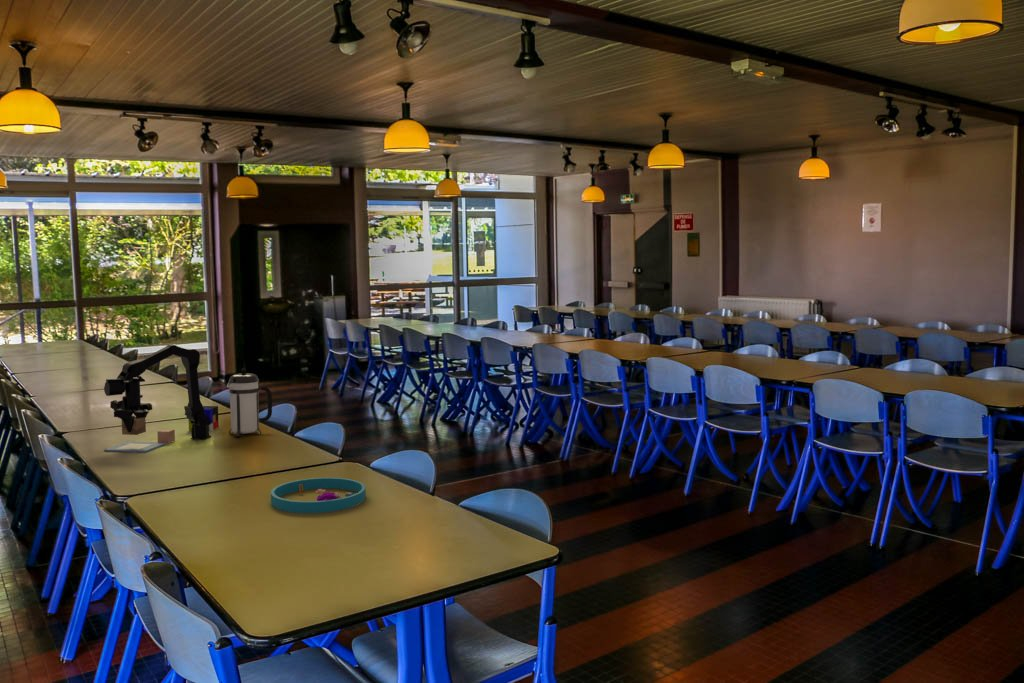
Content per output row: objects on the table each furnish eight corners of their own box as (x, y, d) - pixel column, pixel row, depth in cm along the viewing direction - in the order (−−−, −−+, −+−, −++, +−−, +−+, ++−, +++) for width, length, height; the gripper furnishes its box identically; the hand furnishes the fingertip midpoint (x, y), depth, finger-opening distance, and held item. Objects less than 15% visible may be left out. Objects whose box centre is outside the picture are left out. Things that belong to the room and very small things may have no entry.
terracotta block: (174, 441, 358) (174, 429, 358) (168, 443, 354) (168, 431, 353) (164, 440, 359) (163, 429, 359) (157, 443, 354) (157, 431, 354)
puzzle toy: (210, 431, 380) (209, 409, 379) (188, 431, 380) (188, 409, 379) (218, 427, 390) (218, 406, 389) (197, 427, 390) (196, 405, 389)
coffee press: (254, 438, 364) (252, 370, 361) (221, 436, 367) (219, 369, 364) (273, 430, 381) (271, 366, 378) (241, 429, 384) (239, 365, 381)
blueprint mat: (166, 444, 351) (166, 442, 351) (145, 452, 335) (145, 450, 335) (127, 443, 353) (126, 441, 353) (104, 451, 337) (104, 449, 337)
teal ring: (291, 520, 249) (291, 501, 248) (257, 497, 273) (257, 480, 272) (381, 504, 266) (381, 486, 266) (342, 484, 290) (342, 467, 290)
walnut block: (145, 431, 346) (145, 417, 345) (137, 434, 339) (136, 420, 339) (131, 431, 346) (130, 417, 346) (122, 434, 340) (121, 420, 339)
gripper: (127, 389, 351) (129, 425, 353) (100, 396, 333) (102, 434, 334) (152, 390, 350) (153, 426, 351) (126, 397, 332) (128, 435, 333)
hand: (134, 430), depth 343 cm, fingers closed on walnut block, 6 cm apart
